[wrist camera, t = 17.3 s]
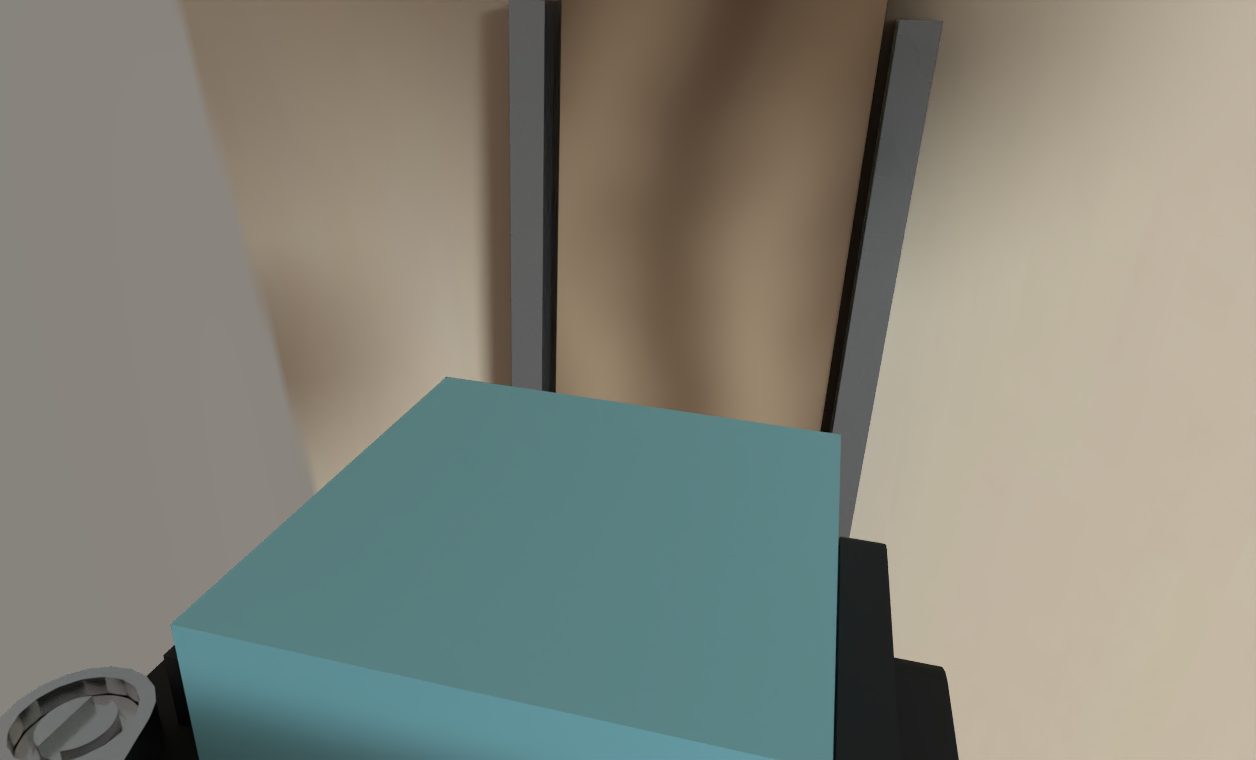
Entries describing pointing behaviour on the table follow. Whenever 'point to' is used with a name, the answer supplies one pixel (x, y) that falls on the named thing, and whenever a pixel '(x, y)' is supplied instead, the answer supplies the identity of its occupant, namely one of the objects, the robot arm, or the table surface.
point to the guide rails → (879, 245)
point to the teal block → (535, 593)
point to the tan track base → (709, 199)
